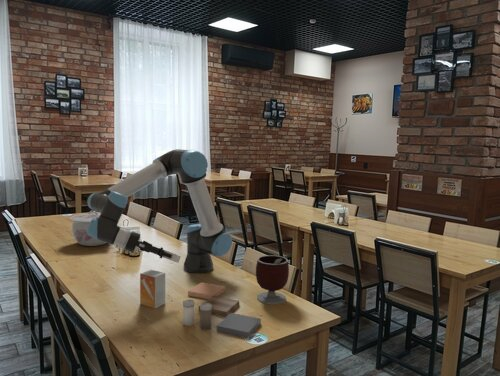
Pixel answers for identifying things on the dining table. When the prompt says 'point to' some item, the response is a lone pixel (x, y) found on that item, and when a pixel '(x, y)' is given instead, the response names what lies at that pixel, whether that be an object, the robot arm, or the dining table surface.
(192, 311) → the salt shaker
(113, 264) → the dining table surface
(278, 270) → the mate gourd
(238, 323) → the slate coaster
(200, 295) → the terracotta coaster
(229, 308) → the walnut coaster
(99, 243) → the chamber pot
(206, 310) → the pepper shaker
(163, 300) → the small box
